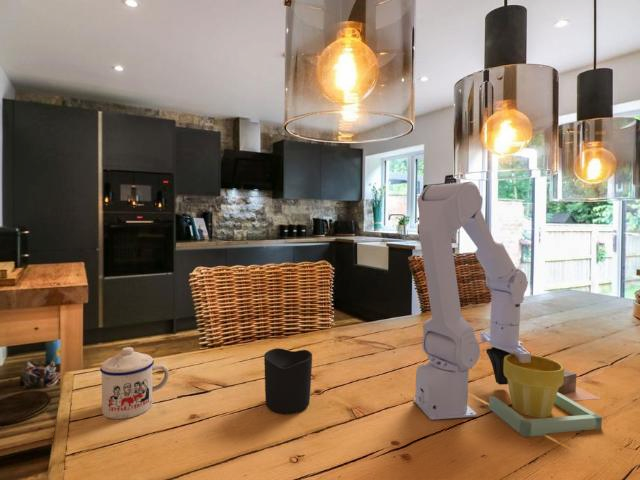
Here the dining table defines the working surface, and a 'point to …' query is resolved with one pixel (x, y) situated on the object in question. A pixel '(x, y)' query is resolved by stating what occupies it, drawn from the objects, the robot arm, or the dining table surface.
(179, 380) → the dining table surface
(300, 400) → the pen holder
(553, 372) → the plant pot
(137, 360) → the teacup with lid
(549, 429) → the frame
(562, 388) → the walnut block
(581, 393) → the terracotta mat
